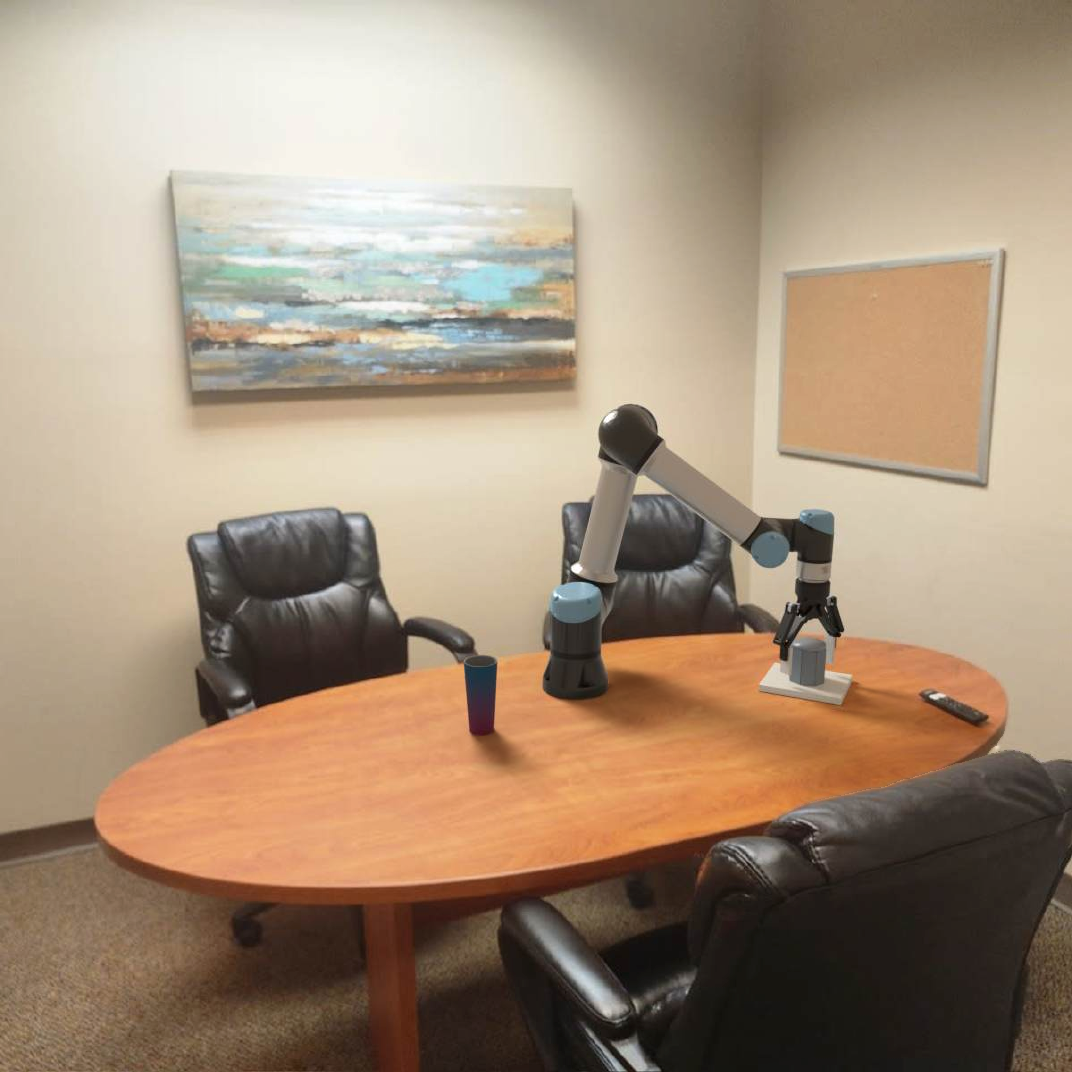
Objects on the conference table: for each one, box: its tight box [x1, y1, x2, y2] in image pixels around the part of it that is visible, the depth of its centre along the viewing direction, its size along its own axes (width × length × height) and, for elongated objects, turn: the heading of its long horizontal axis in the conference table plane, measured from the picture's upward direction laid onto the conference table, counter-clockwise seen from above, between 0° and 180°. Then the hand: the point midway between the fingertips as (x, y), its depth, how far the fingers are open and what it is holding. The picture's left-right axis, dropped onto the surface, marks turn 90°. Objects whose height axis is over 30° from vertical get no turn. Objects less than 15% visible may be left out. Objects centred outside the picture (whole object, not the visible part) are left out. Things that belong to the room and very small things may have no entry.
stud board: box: [758, 662, 853, 706], centre depth 203 cm, size 18×16×8 cm
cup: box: [463, 654, 498, 736], centre depth 179 cm, size 7×7×15 cm
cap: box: [789, 636, 827, 686], centre depth 202 cm, size 8×8×9 cm
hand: (807, 668), depth 203 cm, fingers open, 13 cm apart
